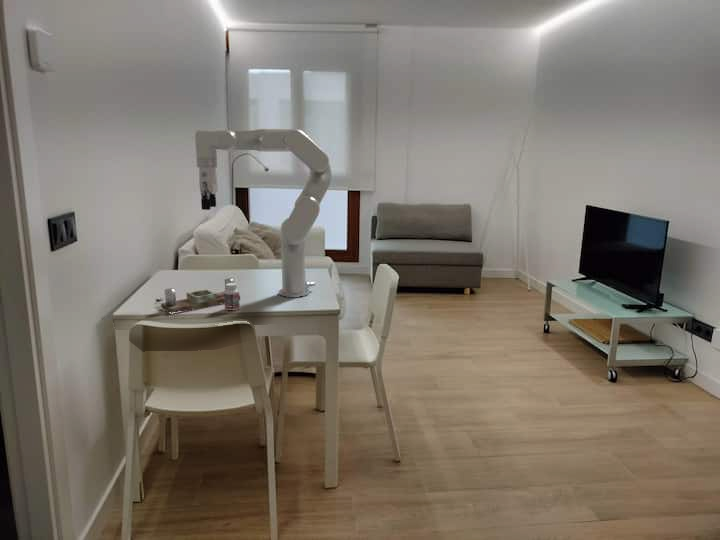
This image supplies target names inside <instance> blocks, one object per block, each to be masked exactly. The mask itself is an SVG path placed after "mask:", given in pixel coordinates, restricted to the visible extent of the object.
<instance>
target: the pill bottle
mask: <svg viewBox="0 0 720 540" xmlns="http://www.w3.org/2000/svg"><path fill="white" fill-rule="evenodd" d="M223 292H224V298H225V304H224V310H225V309H226V310H225V311H227V310H236V311H238V310H237V309H239V310H240V301H239V295H240V291H239V289H238V284H237V283H235V282H234V283H228V284H226V290H225V289H224V291H223Z"/></svg>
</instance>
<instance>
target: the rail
mask: <svg viewBox="0 0 720 540" xmlns="http://www.w3.org/2000/svg"><path fill="white" fill-rule="evenodd" d="M239 300H240V301H241V295H240V294H239ZM220 303H225V298H224V291H222V292H213V291H211V290H209V289H207V288H205V289H201V290H195V291H194V290H193V291H189V292H186V298H184V299H179V300H176V306H173V307H167V306H166V302H163V303H160V308H161V307H162V308H163V309H165V310H167V311H168V312H171V313H172V312H178V311H185V310H191V311H193V310H192V309H195V310H199V309H198V308H200V309H204V308H203V307H205V308H209V307H208V306H210V307H214V306H213V305H215V306H217V305H216V304H220ZM220 305H221V304H220ZM163 309H162V310H163ZM168 312H167V313H168Z"/></svg>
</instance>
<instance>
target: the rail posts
mask: <svg viewBox="0 0 720 540" xmlns="http://www.w3.org/2000/svg"><path fill="white" fill-rule="evenodd" d="M228 283H235V279H234V278H232V277H231V278H230V277H229V278H225V279H224V291H225V290H226V284H228ZM176 297H177V296H176V288H172V287H171V288H166V289H164V299H165V303H166V306H167V307H173V306H176V301H177V300H176Z"/></svg>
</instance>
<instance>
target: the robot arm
mask: <svg viewBox="0 0 720 540" xmlns="http://www.w3.org/2000/svg"><path fill="white" fill-rule="evenodd" d="M194 138H195V139H194V141H195V156H196V168H199V172H198V173H199V178H198V180H199V192H200V193H201V194H200V195H201V196H200V198H201V199H200V201H201V205H200V206H201V211H202V210H203V211H205V210H206V211H210V210H211V208H216V207H217V197H216V196H217V195H216V193H217V192H218V191H219V189H218V188H219V186H218V176H217V169H216V168H218V159H217V157H218V155H217V150H220V151H257V152H268V153H269V152H275V153H277V152H281V153H282V152H285V153H286V152H287V153H288V152H291V153H292V154H293V155H294V156H295V157H296V158H297V159H298V160H299V161H300V162H302V164H304V165H305V166H306V167H307V168H308V169H309V171H310V173H309V177H308V180H307V181H306V183H305V186H304V187H303V189H302V190H301V192H300V194H299V195H298V197H297V199H296V200H295V202H294V206H293V207H294V208H293V210H291V213H290V214H289V216H288V218H286V219H284V220H283V222H282V223H281V226H280V242H281V244H280V245H281V247H280V248H281V283H282V286H281V287H282V288H280V289H279V290H278V295H279V296H281V295H282V296H281V297H284V296H286V297H285V298H301V297H300V296H302V297H305V295H306V296H308V295H309V294H310V289H309V288H311V287H315V286H316V283H315V281H310V282H309V281H306V243H305V242H306V241H305V240H306V238H307V236H308V234H309V233H310V231H311V229H312V228H313V226H314V224H315V222H316V220H317V219H318V217H319V214H320V210H321V209H320V205H321V202H322V201H323V199H324V197H325V195H326V193H327V191H328V189H329V187H330V184H331V182H332V170H331V165H330V160H329V156H328V154H327V153H326V152H325V151H324V150H323V149H322V148H321V147H319V145H317V144H316V143H315V142H314V141H313V140H312V139H311V138H310V137H309V136H308V135H306V133H305V132H304V131H303V130H301V129H300V128H299V129H298V128H292V129H291V128H290V129H289V128H261V129H260V128H259V129H254V130H228V129H219V130H211V129H209V130H208V129H198V130H196V131H195V133H194Z"/></svg>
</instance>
